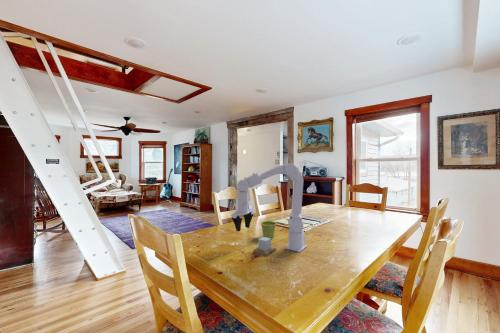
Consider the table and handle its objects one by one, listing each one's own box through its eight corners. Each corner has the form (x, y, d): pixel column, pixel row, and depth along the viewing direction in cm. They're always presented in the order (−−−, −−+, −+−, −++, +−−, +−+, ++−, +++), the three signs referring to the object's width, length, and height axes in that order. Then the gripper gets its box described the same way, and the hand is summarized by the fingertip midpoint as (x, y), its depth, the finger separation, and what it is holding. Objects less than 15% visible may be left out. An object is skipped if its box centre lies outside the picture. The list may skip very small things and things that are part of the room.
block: (263, 246, 117) (263, 236, 117) (271, 248, 114) (271, 238, 114) (258, 249, 113) (258, 239, 113) (266, 251, 111) (266, 241, 111)
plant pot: (274, 241, 129) (274, 225, 129) (258, 239, 132) (258, 224, 132) (278, 236, 138) (278, 221, 138) (263, 234, 141) (263, 220, 141)
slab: (262, 248, 120) (262, 244, 120) (275, 252, 115) (275, 248, 115) (253, 253, 113) (253, 249, 113) (267, 257, 108) (267, 253, 108)
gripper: (245, 200, 126) (245, 224, 126) (227, 204, 114) (227, 231, 115) (255, 201, 122) (255, 227, 122) (238, 205, 110) (238, 233, 110)
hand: (242, 229), depth 118 cm, fingers open, 7 cm apart
